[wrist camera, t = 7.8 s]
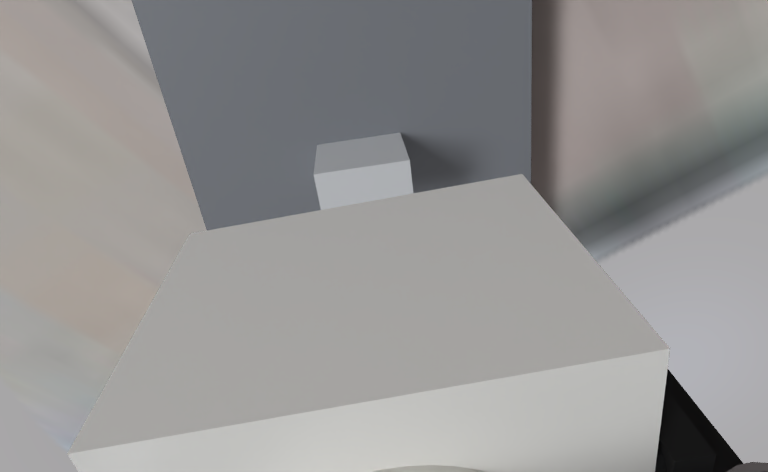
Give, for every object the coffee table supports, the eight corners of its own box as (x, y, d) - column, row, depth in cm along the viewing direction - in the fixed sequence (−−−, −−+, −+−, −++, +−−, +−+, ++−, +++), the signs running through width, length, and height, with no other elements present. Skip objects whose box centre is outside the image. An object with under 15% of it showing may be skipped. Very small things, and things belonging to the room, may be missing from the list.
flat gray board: (235, 272, 27) (212, 340, 23) (58, -296, 17) (-55, -398, 12) (518, 230, 27) (556, 288, 23) (513, -361, 17) (582, -487, 12)
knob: (276, 458, 13) (224, 853, 7) (189, 233, 10) (-18, 603, 4) (532, 414, 13) (684, 777, 7) (522, 173, 10) (771, 469, 4)
